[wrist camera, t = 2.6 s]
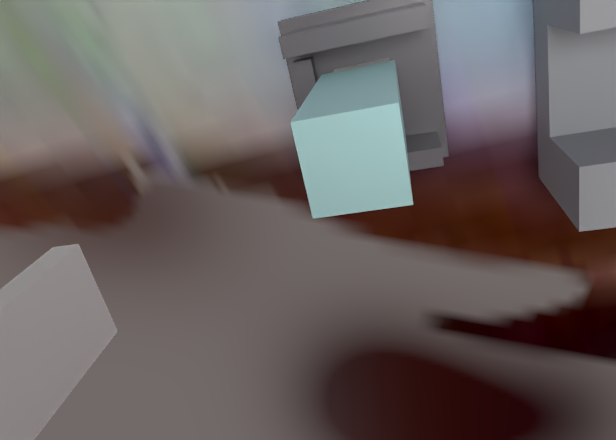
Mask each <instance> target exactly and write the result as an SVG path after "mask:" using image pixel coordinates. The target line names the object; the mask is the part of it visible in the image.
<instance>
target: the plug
mask: <svg viewBox="0 0 616 440" xmlns="http://www.w3.org/2000/svg"><path fill="white" fill-rule="evenodd" d="M290 124H291V128H292V132H293V137H294V141H295V145H296V149H297V154H298V158H299V162H300V166H301V171H302V175H303V179H304V183H305V188H306V192H307V196H308V200H309V205H310V209H311V213H312V218H313V219H314V218H321V217H328V216H336V215H343V214H350V213H357V212H365V211H372V210H379V209H386V208H393V207H401V206H408V205H413V197H412V189H411V180H410V171H409V162H408V153H407V144H406V135H405V128H404V121H403V114H402V106H401V99H400V92H399V85H398V78H397V71H396V64H395V60H391V61H390V59H389V58H388V59H383V60H378V61H373V62H368V63H363V64H358V65H353V66H348V67H343V68H338V69H334V71H333V72H332V73H327V74H322V75H321V76H320V78H319V79H318V81H317V82H316V84H315V85H314V87H313V88H312V90H311V91H310V93H309V94H308V96H307V98H306V99H305V101H304V102H303V104H302V105H301V107H300V108H299V110H298V111H297V113H296V114H295V116H294V117H293V119H292V120H291V122H290Z"/></svg>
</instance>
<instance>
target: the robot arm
mask: <svg viewBox="0 0 616 440" xmlns="http://www.w3.org/2000/svg"><path fill="white" fill-rule="evenodd" d="M116 333H117V329H116V326H115V324H114V322H113V320H112V317H111V315H110V313H109V311H108V308H107V306H106V304H105V302H104V300H103V298H102V295H101V293H100V291H99V288H98V286H97V284H96V282H95V280H94V277H93V275H92V273H91V271H90V269H89V266H88V264H87V262H86V259H85V258H84V255H83V253H82V251H81V248H80V246H79V244H73V245H66V246H59V247H52V248H51V249H50V250H49V251H47V252H46V253H45V254H44V255H42V256H41V257H40V258H39V259H37V260H36V261H35V262H34V263H32V264H31V265H30V266H29V267H28V268H26V269H25V270H24V271H23V272H21V273H20V274H19V275H17V276H16V277H15V278H14V279H12V280H11V281H10V282H9V283H7V284H6V285H5V286H4V287H3V288H1V289H0V440H34V439H35V438H36V437H37V435H38V434H39V433H40V431H41V430H42V429H43V428H44V426H45V425H46V424H47V422H48V421H49V420H50V418H51V417H52V416H53V415H54V413H55V412H56V411H57V409H58V408H59V407H60V405H61V404H62V403H63V401H64V400H65V399H66V398H67V396H68V395H69V394H70V393H71V391H72V390H73V388H74V387H75V386H76V385H77V383H78V382H79V381H80V379H81V378H82V377H83V376H84V374H85V373H86V372H87V370H88V369H89V368H90V367H91V365H92V364H93V363H94V361H95V360H96V359H97V357H98V356H99V355H100V353H101V352H102V351H103V349H104V348H105V347H106V346H107V344H108V343H109V342H110V341H111V339H112V338H113V337H114V335H115V334H116Z"/></svg>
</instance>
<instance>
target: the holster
mask: <svg viewBox="0 0 616 440" xmlns="http://www.w3.org/2000/svg"><path fill="white" fill-rule="evenodd" d="M278 25H279V29H280V34H281V37H279V42H280V46H281V51H282V55H283V59H285V58H286V60H287V65H288V69H289V74H290V78H291V83H292V87H293V91H294V96H295V100H296V105H297V109H298V110H299V108H300V107H301V105H302V104H303V102H304V101H305V99H306V98H307V96H308V94H309V93H310V91H311V90H312V88H313V87H314V85H315V84H316V82H317V81H318V79H319V78H320V76H321V75H322V74H327V73H332V72H333V71H334V69H338V68H343V67H348V66H353V65H358V64H363V63H368V62H373V61H378V60H383V59H388V58H389V59H390V61H391V60H395V64H396V71H397V78H398V85H399V92H400V99H401V106H402V114H403V121H404V128H405V135H406V144H407V153H408V162H409V171H413V170H419V169H426V168H432V167H439V166H444V162H443V157H448V156H449V154H448V145H447V135H446V126H445V117H444V107H443V98H442V89H441V79H440V70H439V61H438V51H437V42H436V33H435V23H434V14H433V5H432V0H367V1H363V2H358V3H354V4H350V5H345V6H341V7H337V8H332V9H328V10H324V11H319V12H315V13H311V14H306V15H302V16H298V17H293V18H289V19H285V20H281V21H278Z"/></svg>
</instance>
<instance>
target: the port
mask: <svg viewBox="0 0 616 440" xmlns="http://www.w3.org/2000/svg"><path fill="white" fill-rule="evenodd" d="M533 11H534V43H535V75H536V107H537V139H538V171H539V178H540V180H541V181H542V182H543V184H544V185H545V186H546V188H547V189H548V190H549V192H550V193H551V194H552V196H553V197H554V198H555V200H556V201H557V203H558V204H559V205H560V207H561V208H562V209H563V211H564V212H565V213H566V215H567V216H568V217H569V219H570V220H571V221H572V223H573V224H574V225H575V227H576V228H577V229H578V231H579V232H580V231H588V230H596V229H605V228H613V227H616V0H533Z"/></svg>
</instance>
